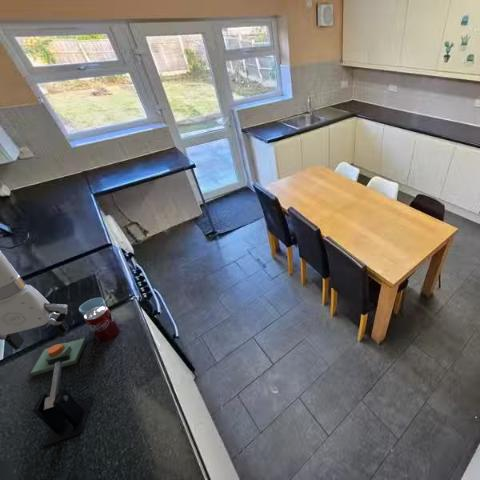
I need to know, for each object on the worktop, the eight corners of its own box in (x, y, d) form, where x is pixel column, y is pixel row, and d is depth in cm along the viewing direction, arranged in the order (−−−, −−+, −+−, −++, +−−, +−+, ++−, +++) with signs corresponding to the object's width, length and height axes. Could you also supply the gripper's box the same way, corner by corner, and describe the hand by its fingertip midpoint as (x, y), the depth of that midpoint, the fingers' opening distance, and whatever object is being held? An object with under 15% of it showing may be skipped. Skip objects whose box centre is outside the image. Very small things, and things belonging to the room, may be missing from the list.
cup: (86, 330, 104) (73, 311, 99) (102, 316, 111) (91, 296, 105) (103, 332, 103) (91, 312, 98) (119, 317, 110) (108, 298, 104)
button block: (34, 377, 88) (26, 369, 86) (47, 353, 96) (41, 345, 94) (78, 364, 91) (72, 356, 89) (87, 341, 99) (82, 334, 97)
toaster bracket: (61, 411, 78) (38, 387, 72) (94, 400, 80) (74, 376, 74) (45, 448, 70) (18, 425, 64) (82, 435, 72) (59, 411, 66)
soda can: (107, 328, 105) (93, 305, 99) (125, 328, 104) (112, 305, 98) (93, 343, 99) (77, 320, 93) (112, 343, 98) (97, 320, 92)
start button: (48, 357, 90) (45, 354, 89) (53, 349, 93) (50, 346, 92) (61, 354, 91) (58, 350, 90) (65, 345, 94) (63, 342, 93)
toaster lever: (52, 361, 76) (46, 359, 74) (71, 356, 78) (66, 354, 76) (44, 412, 69) (37, 411, 68) (65, 405, 71) (59, 404, 69)
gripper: (-61, 311, 57) (-8, 362, 66) (40, 288, 62) (77, 338, 71) (-36, 290, 63) (9, 339, 72) (54, 270, 69) (86, 319, 77)
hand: (43, 339), depth 71 cm, fingers open, 9 cm apart
